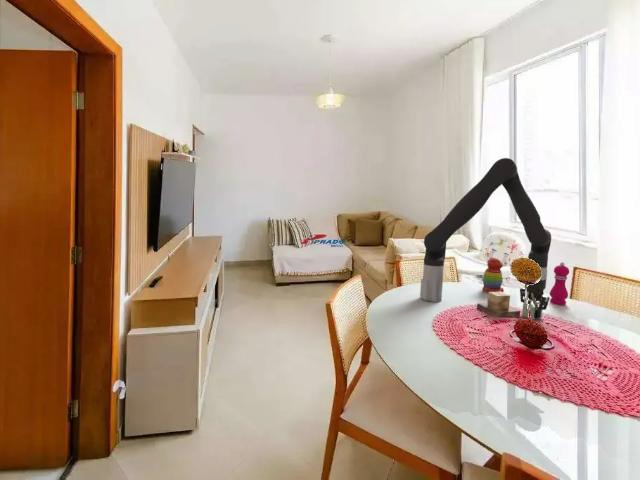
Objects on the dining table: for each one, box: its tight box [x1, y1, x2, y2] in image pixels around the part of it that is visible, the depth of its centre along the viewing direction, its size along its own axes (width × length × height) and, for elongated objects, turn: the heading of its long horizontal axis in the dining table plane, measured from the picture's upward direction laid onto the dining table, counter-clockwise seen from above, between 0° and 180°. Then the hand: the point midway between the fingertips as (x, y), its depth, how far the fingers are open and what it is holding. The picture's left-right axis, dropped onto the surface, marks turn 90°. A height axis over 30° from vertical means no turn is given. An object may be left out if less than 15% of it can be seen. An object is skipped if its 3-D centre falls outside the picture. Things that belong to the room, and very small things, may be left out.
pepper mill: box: [549, 261, 570, 306], centre depth 164 cm, size 7×7×20 cm
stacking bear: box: [482, 257, 504, 293], centre depth 184 cm, size 11×10×18 cm
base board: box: [476, 302, 521, 318], centre depth 153 cm, size 12×12×2 cm
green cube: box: [521, 302, 543, 320], centre depth 146 cm, size 5×5×5 cm
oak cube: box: [487, 291, 511, 310], centre depth 152 cm, size 6×6×6 cm
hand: (531, 315), depth 147 cm, fingers closed on green cube, 5 cm apart
